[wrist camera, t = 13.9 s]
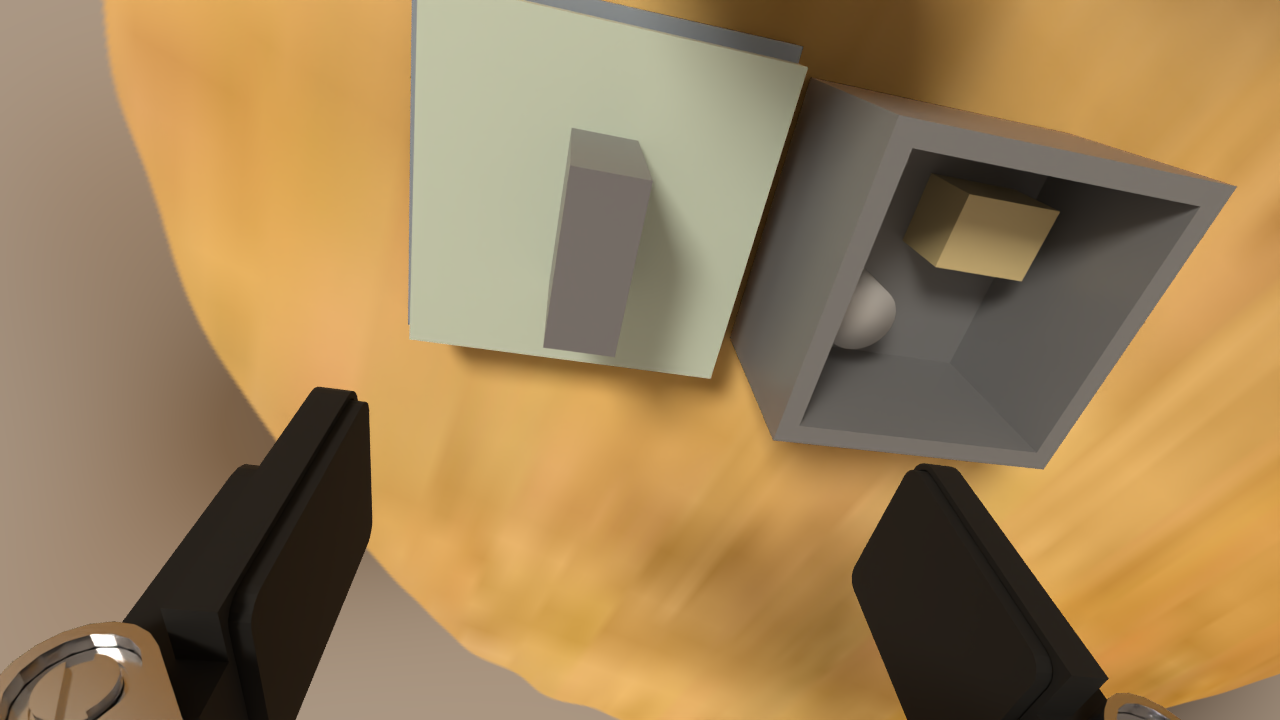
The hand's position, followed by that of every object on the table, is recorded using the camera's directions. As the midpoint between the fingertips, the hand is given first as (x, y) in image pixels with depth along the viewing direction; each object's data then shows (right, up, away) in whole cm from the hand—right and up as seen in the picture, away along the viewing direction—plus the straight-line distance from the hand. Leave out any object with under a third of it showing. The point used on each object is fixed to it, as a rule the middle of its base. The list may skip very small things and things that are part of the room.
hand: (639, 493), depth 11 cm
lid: (-2, +8, +14) cm, 16 cm away
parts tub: (+11, +8, +18) cm, 23 cm away
